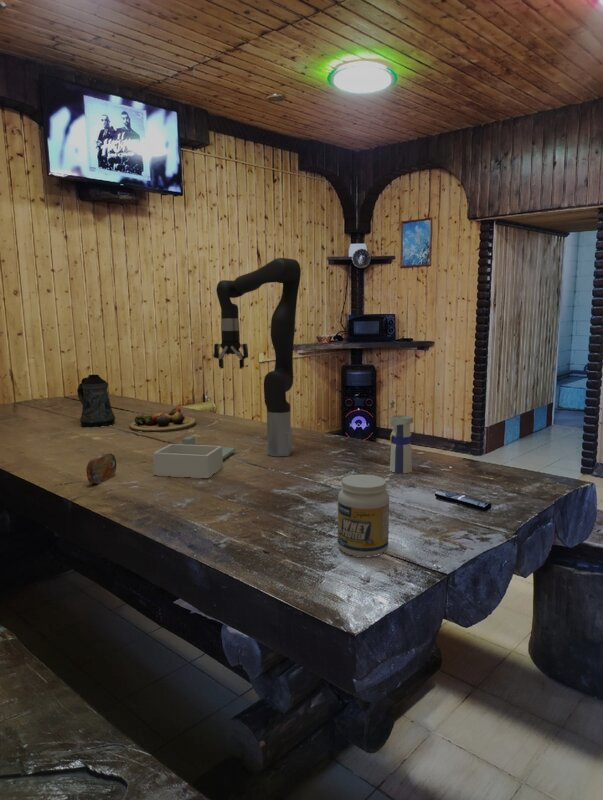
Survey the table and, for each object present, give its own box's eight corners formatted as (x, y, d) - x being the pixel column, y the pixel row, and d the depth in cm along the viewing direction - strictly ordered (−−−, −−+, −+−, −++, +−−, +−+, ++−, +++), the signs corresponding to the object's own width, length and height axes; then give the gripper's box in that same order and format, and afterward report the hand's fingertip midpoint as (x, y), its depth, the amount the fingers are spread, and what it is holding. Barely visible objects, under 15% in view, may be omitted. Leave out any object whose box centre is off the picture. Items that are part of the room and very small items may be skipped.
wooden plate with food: (165, 417, 306) (163, 402, 304) (209, 423, 288) (208, 407, 287) (115, 429, 279) (114, 413, 278) (161, 436, 262) (160, 419, 260)
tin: (94, 487, 187) (92, 462, 185) (85, 486, 187) (83, 461, 186) (117, 474, 201) (116, 450, 200) (109, 473, 202) (108, 450, 201)
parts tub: (222, 467, 208) (222, 446, 206) (208, 478, 194) (207, 456, 193) (171, 464, 212) (170, 443, 211) (154, 475, 199) (152, 453, 197)
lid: (235, 453, 229) (235, 435, 228) (222, 463, 215) (222, 443, 214) (188, 451, 233) (187, 433, 232) (172, 460, 219) (171, 441, 218)
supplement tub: (330, 555, 134) (330, 485, 131) (345, 535, 145) (345, 471, 142) (382, 562, 129) (383, 490, 127) (393, 542, 141) (394, 475, 138)
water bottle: (386, 473, 199) (387, 402, 195) (391, 466, 207) (392, 398, 203) (409, 475, 196) (411, 403, 192) (413, 468, 204) (415, 399, 200)
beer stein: (108, 428, 279) (105, 377, 275) (69, 428, 279) (65, 377, 276) (119, 421, 296) (117, 373, 292) (82, 421, 296) (79, 373, 292)
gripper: (249, 329, 240) (250, 367, 242) (217, 329, 243) (218, 367, 245) (243, 329, 232) (244, 369, 235) (210, 329, 236) (212, 369, 238)
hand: (231, 368), depth 240 cm, fingers open, 8 cm apart
